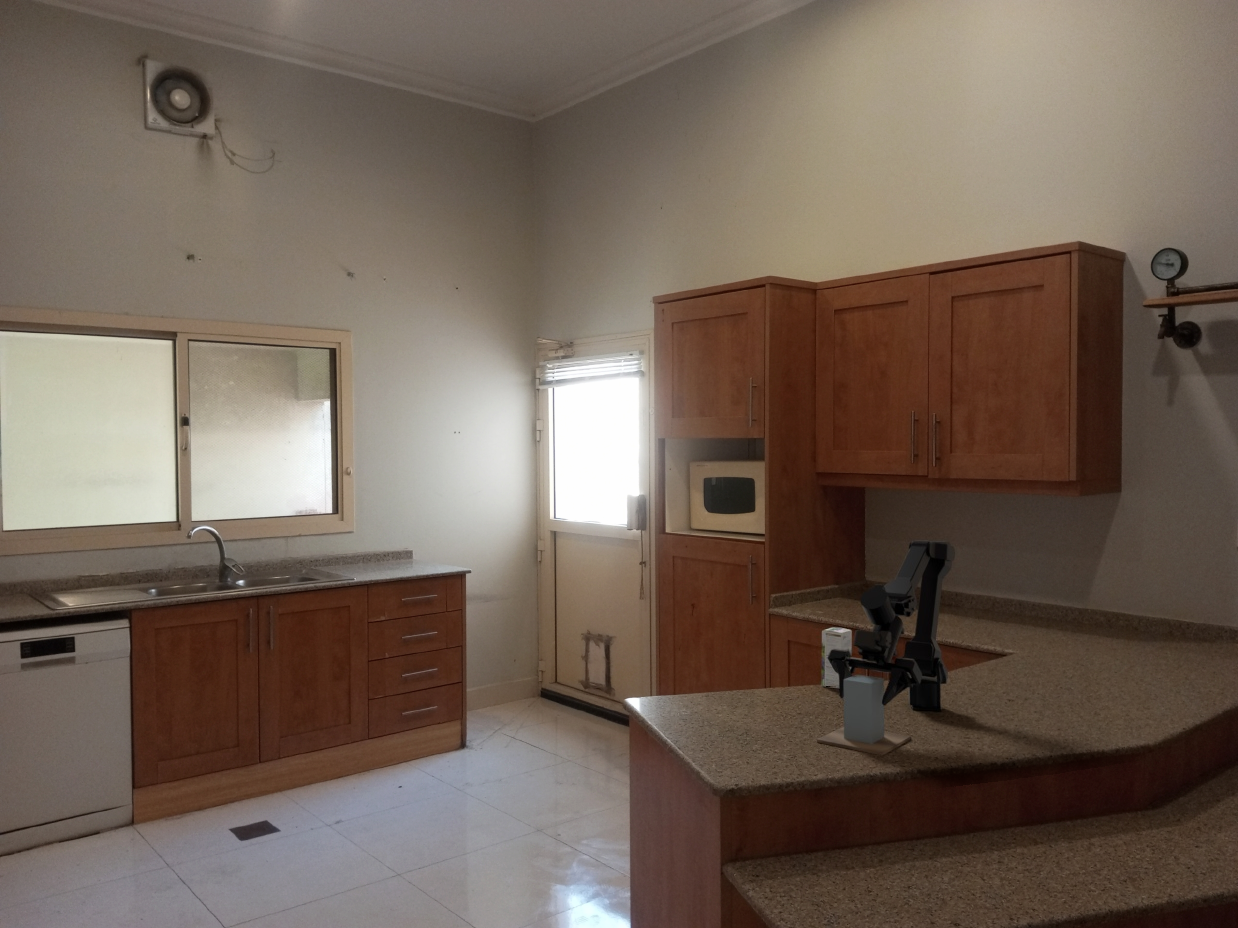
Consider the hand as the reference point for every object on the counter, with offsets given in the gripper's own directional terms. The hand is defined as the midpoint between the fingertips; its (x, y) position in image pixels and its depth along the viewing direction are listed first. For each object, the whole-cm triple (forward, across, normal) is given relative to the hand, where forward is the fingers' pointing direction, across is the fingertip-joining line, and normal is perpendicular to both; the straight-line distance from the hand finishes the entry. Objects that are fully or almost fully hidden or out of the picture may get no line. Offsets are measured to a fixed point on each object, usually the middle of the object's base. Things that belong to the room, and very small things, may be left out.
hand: (861, 700), depth 188 cm
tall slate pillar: (+5, 0, +6) cm, 8 cm away
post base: (+5, 0, +7) cm, 8 cm away
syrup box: (-23, -26, +36) cm, 50 cm away
